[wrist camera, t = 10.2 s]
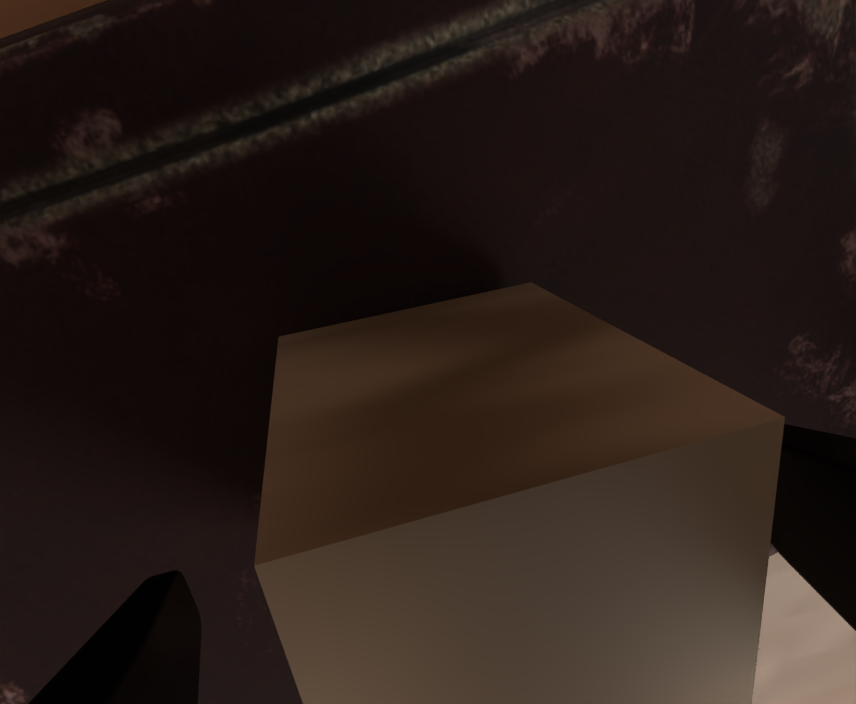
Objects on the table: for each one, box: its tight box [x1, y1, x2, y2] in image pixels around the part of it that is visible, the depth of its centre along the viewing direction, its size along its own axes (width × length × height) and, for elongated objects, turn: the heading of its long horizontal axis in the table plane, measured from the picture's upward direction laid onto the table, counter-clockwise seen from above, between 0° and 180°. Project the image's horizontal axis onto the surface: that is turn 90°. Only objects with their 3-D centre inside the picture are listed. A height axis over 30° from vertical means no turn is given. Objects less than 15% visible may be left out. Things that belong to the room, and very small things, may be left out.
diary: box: [0, 0, 856, 704], centre depth 14 cm, size 19×25×5 cm
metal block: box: [254, 282, 785, 704], centre depth 8 cm, size 5×5×6 cm
